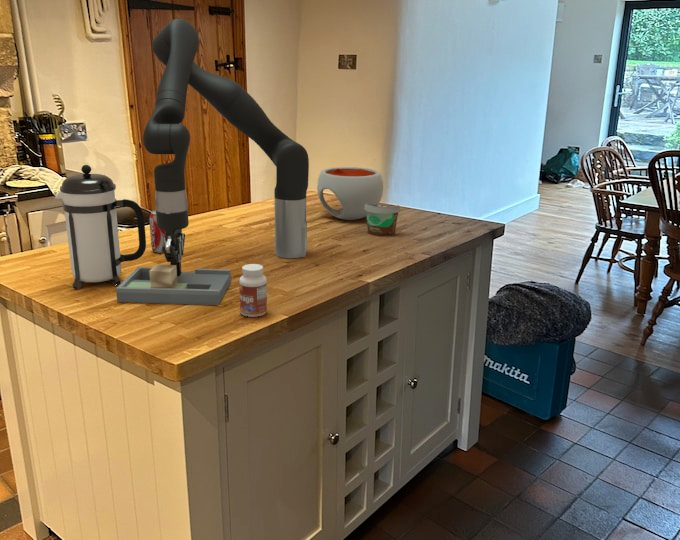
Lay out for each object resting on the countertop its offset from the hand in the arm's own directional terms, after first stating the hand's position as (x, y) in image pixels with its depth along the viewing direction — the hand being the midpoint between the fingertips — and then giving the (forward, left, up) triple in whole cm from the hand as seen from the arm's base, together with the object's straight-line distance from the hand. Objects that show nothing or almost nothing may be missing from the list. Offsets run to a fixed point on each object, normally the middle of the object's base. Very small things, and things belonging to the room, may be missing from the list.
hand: (176, 275), depth 160 cm
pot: (-43, -79, -4) cm, 90 cm away
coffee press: (+20, -4, -4) cm, 21 cm away
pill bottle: (-22, +15, -4) cm, 26 cm away
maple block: (+1, +7, -1) cm, 7 cm away
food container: (-53, -56, -4) cm, 77 cm away
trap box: (-1, +3, -3) cm, 4 cm away
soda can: (+12, -31, -4) cm, 34 cm away
